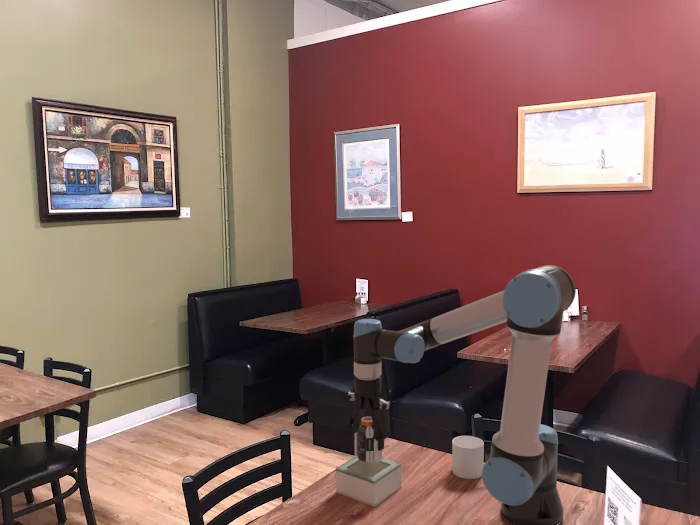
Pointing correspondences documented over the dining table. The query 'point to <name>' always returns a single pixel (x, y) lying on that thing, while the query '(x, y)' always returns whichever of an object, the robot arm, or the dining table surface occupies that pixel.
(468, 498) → the dining table surface
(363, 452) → the pill bottle
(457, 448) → the mug
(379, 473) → the box
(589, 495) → the dining table surface
